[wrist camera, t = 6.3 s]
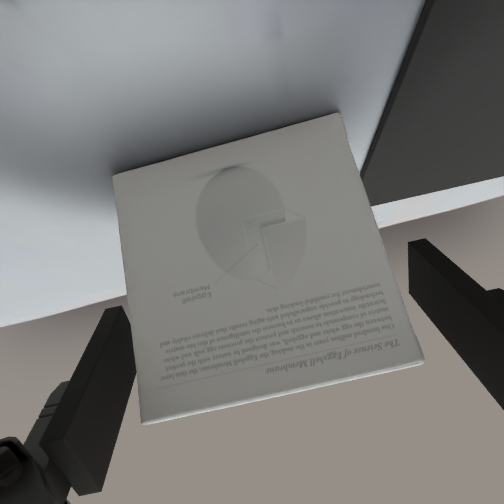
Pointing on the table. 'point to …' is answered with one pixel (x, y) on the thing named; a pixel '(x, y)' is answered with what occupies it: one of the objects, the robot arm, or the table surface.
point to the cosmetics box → (256, 273)
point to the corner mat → (443, 105)
